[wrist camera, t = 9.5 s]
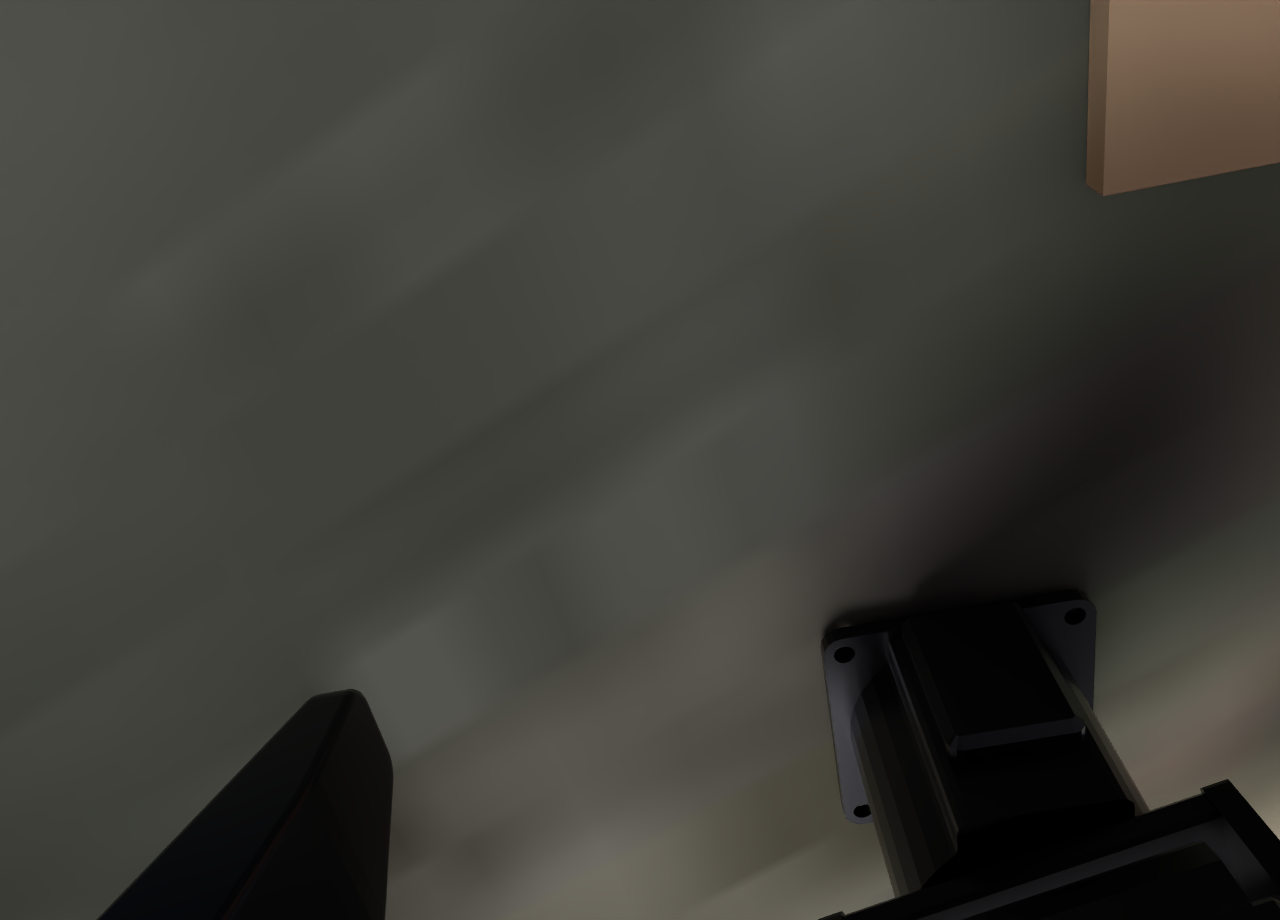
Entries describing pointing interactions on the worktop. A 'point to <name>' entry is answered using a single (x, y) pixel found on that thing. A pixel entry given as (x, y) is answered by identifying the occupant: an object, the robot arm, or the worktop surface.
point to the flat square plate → (1181, 90)
